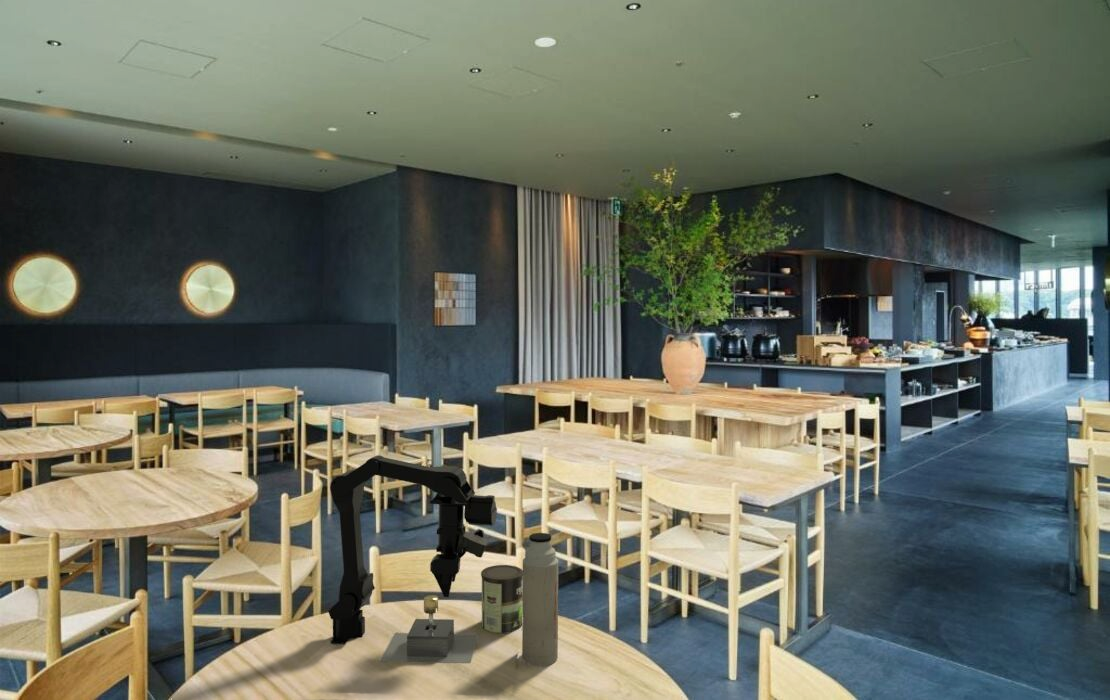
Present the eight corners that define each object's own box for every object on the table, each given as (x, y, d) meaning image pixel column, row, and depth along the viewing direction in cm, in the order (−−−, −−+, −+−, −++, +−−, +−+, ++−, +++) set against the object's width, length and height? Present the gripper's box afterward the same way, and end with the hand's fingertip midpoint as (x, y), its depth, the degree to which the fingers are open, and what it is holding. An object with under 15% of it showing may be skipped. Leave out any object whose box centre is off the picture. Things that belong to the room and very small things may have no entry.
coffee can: (524, 619, 182) (524, 564, 181) (521, 637, 171) (521, 579, 171) (483, 618, 182) (483, 564, 181) (478, 637, 171) (478, 579, 171)
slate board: (379, 665, 157) (379, 661, 157) (395, 637, 171) (395, 632, 171) (470, 667, 157) (470, 662, 157) (478, 638, 171) (478, 634, 171)
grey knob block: (407, 656, 159) (406, 636, 159) (415, 638, 168) (415, 618, 168) (447, 657, 159) (447, 636, 159) (453, 638, 168) (453, 619, 168)
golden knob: (421, 637, 162) (421, 601, 161) (424, 630, 165) (424, 594, 165) (437, 637, 162) (437, 601, 161) (440, 630, 165) (440, 594, 165)
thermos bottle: (560, 651, 164) (561, 531, 163) (553, 668, 157) (554, 542, 155) (526, 647, 166) (527, 528, 165) (518, 664, 158) (518, 539, 157)
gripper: (481, 536, 156) (479, 606, 157) (489, 512, 175) (487, 575, 176) (430, 535, 156) (429, 605, 157) (443, 511, 175) (442, 573, 176)
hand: (449, 588), depth 166 cm, fingers open, 9 cm apart
